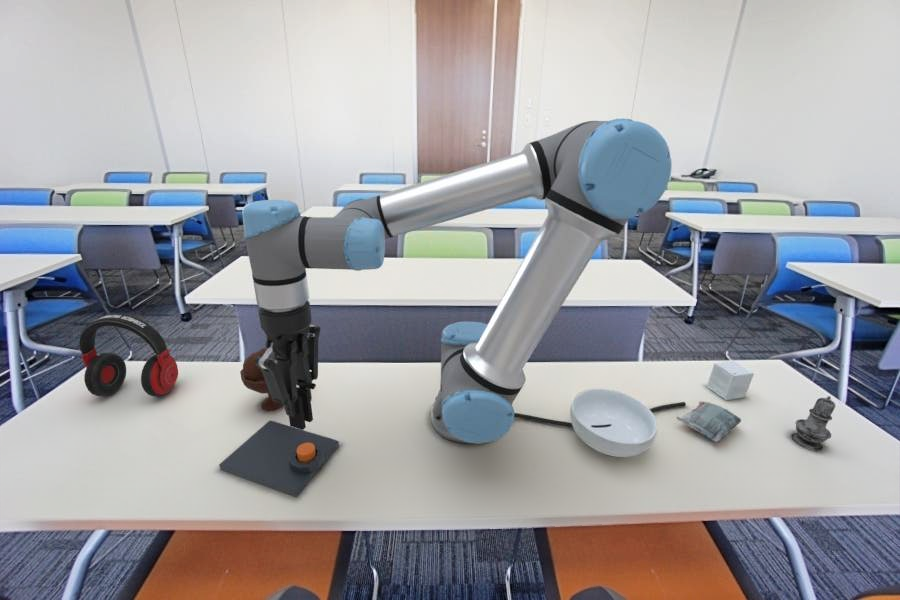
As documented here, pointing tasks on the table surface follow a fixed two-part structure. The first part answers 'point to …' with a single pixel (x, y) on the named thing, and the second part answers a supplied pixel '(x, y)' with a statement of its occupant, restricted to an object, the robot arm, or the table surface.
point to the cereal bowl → (613, 422)
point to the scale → (279, 458)
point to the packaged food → (710, 420)
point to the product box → (730, 380)
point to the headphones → (111, 369)
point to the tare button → (306, 452)
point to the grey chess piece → (815, 425)
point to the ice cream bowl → (257, 380)
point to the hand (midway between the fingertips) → (301, 422)
